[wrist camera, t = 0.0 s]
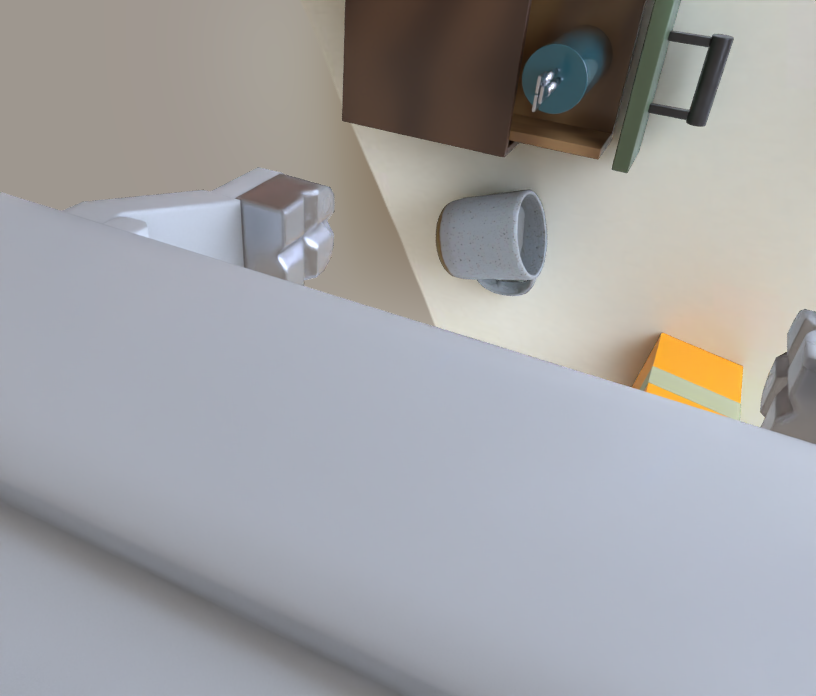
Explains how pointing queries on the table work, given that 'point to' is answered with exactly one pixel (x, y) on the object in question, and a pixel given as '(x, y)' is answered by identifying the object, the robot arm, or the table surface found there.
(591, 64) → the cutlery cup
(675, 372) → the orange juice
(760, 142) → the table surface
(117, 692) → the robot arm
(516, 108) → the drawer
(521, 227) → the ceramic mug
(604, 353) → the table surface
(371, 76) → the cabinet
